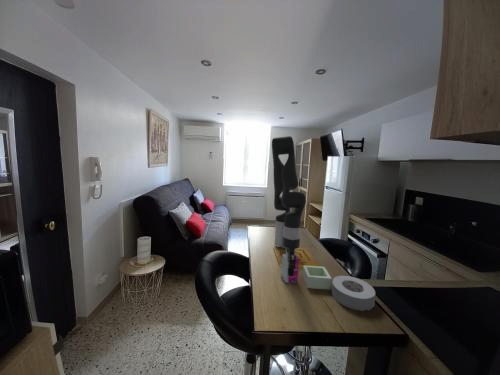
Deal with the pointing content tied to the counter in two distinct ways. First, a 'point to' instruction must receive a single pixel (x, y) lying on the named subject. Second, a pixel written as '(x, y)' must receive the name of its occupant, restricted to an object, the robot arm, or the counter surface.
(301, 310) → the counter surface
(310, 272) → the holder
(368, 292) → the tape roll
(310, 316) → the counter surface
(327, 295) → the counter surface
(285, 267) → the supplement box
